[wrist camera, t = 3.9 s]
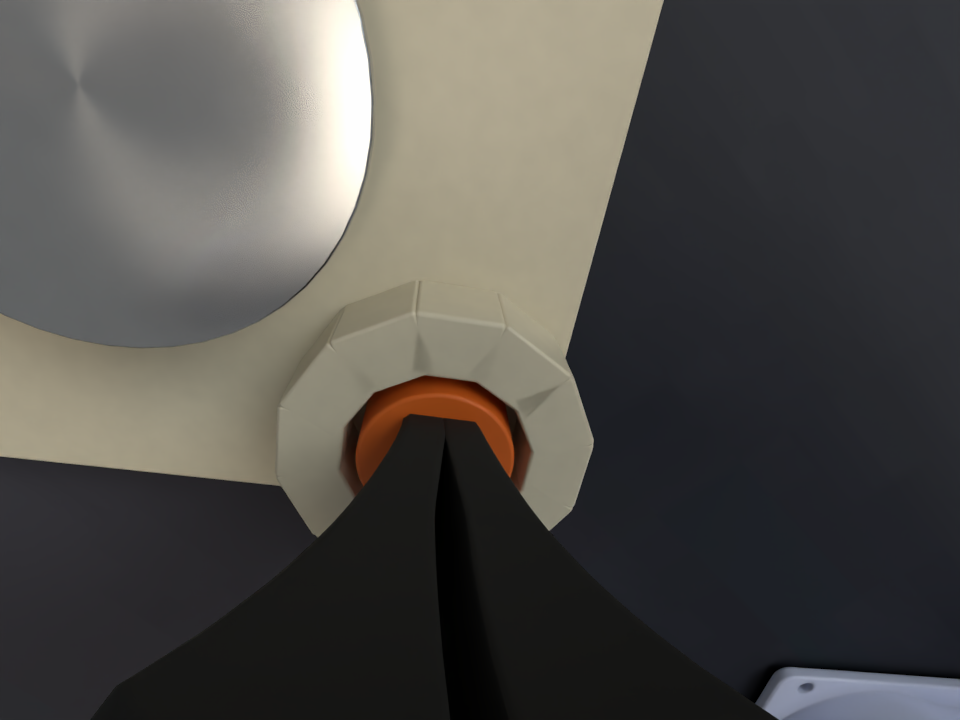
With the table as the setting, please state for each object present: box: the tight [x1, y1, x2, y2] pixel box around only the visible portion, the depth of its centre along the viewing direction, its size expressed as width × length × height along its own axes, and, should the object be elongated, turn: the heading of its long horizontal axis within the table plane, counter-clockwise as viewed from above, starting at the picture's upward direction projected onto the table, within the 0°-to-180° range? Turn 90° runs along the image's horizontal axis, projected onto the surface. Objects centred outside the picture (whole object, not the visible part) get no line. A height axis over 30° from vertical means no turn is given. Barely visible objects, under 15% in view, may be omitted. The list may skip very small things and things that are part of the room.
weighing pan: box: [0, 0, 376, 348], centre depth 7 cm, size 8×8×1 cm
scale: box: [0, 0, 664, 537], centre depth 10 cm, size 12×12×3 cm
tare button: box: [355, 375, 514, 486], centre depth 11 cm, size 3×3×2 cm
